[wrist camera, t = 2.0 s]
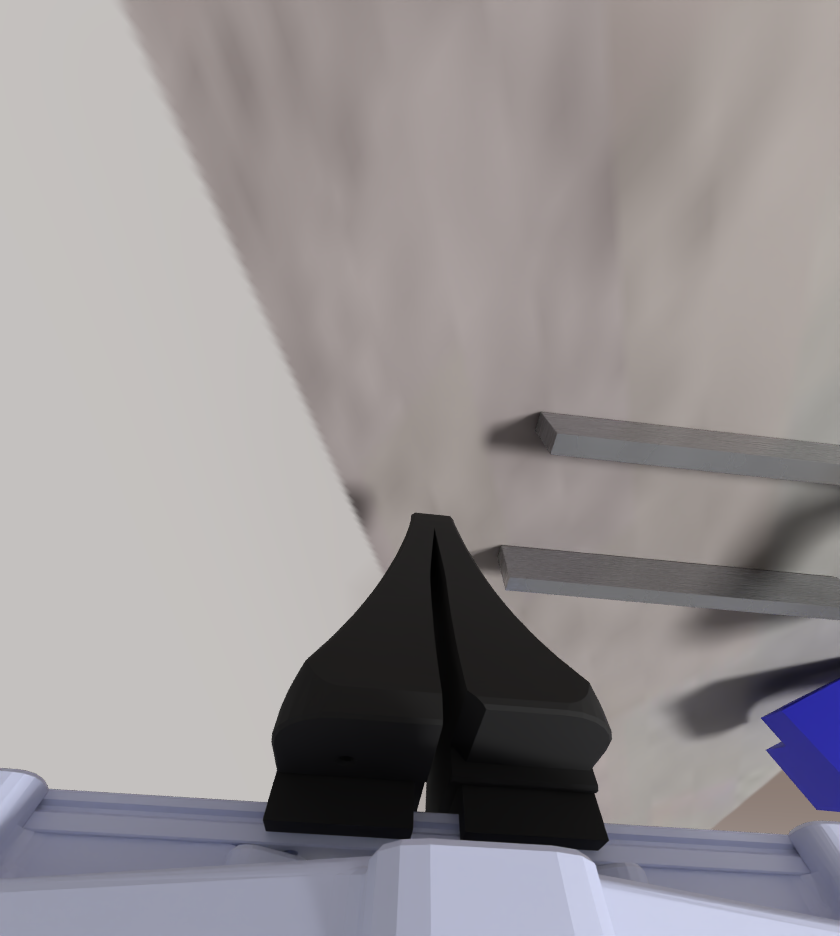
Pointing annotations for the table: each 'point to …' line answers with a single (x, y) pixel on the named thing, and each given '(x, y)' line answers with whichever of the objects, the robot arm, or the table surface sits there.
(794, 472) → the guide channel
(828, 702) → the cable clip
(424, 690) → the robot arm
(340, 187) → the table surface
